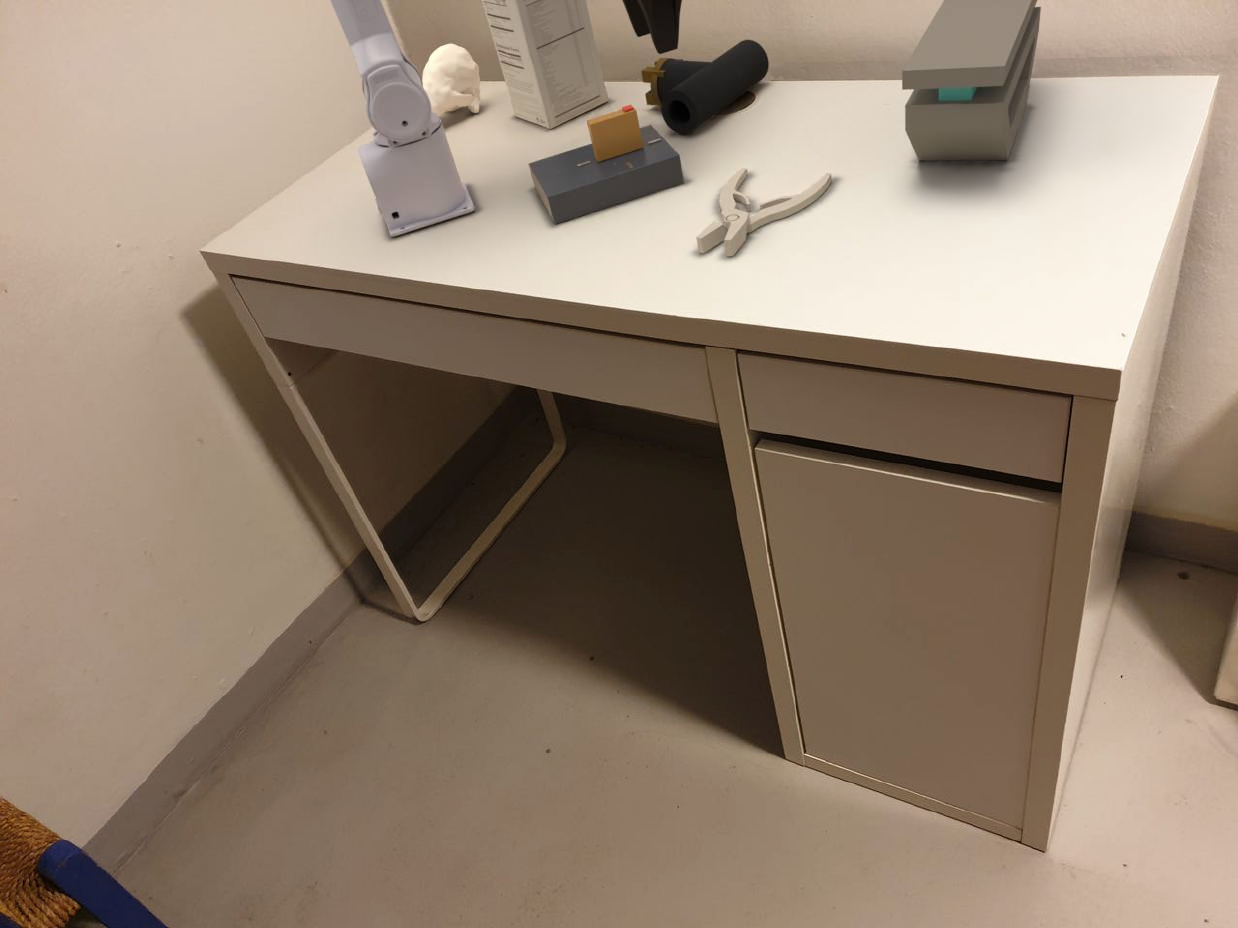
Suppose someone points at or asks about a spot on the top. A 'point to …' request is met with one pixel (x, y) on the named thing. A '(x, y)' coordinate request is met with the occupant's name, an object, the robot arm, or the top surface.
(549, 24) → the supplement box
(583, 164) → the dark slotted flat block
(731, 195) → the pliers
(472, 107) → the white lumpy rounded piece
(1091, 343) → the top surface
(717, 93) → the pipe connector
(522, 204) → the top surface
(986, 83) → the grey slotted box
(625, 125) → the tan upright tile
